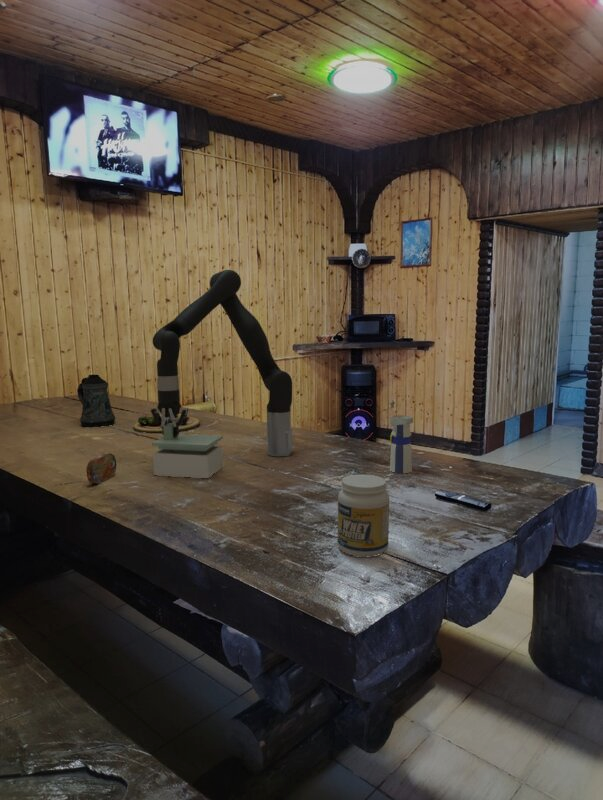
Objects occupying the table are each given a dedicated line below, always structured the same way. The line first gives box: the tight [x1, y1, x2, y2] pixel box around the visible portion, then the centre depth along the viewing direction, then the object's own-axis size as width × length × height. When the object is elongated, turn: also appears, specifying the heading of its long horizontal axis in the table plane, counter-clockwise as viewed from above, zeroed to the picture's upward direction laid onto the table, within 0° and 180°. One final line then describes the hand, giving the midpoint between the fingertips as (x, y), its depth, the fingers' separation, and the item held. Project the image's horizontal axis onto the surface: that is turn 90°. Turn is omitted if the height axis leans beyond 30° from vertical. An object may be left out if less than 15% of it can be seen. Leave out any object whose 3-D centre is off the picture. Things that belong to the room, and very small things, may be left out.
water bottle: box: [389, 399, 414, 474], centre depth 200 cm, size 8×9×25 cm
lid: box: [151, 423, 224, 451], centre depth 201 cm, size 20×14×8 cm
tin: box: [85, 452, 117, 485], centre depth 194 cm, size 15×3×8 cm, turn 168°
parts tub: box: [152, 445, 224, 479], centre depth 203 cm, size 20×14×8 cm
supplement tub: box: [336, 473, 390, 558], centre depth 136 cm, size 12×12×17 cm
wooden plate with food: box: [132, 411, 201, 434], centre depth 281 cm, size 32×32×8 cm
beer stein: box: [76, 374, 116, 428], centre depth 286 cm, size 16×19×25 cm
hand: (170, 436), depth 203 cm, fingers closed on lid, 3 cm apart
